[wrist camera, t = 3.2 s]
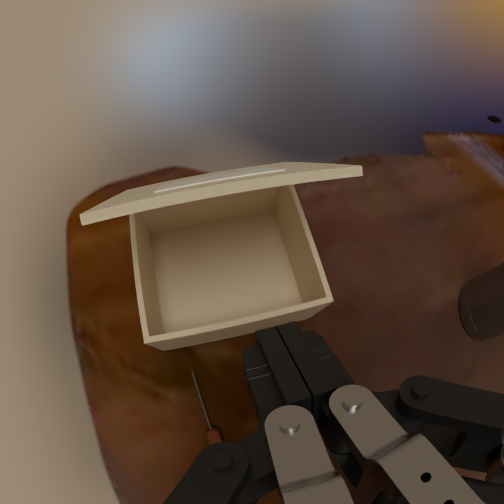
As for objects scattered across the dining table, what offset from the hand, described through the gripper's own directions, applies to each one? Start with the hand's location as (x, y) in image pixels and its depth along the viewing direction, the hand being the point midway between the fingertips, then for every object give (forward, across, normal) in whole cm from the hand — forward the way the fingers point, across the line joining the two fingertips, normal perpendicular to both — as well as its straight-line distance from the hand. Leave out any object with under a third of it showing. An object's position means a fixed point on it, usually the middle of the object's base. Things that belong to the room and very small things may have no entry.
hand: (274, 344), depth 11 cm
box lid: (+14, 0, -4) cm, 14 cm away
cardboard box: (+22, 0, +8) cm, 23 cm away
